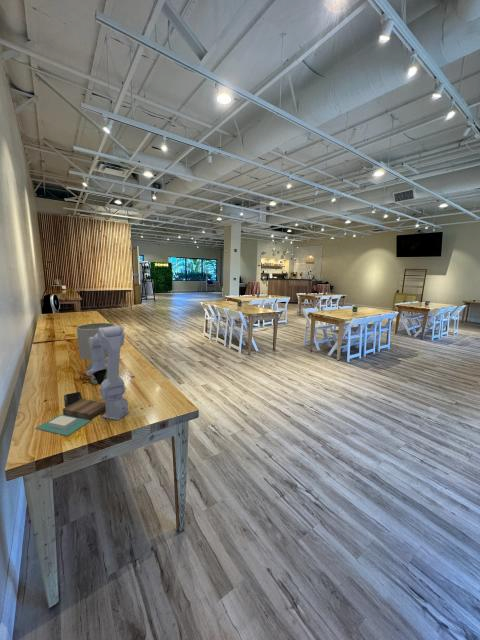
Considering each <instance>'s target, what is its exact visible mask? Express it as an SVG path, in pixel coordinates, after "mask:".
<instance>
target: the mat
mask: <svg viewBox="0 0 480 640" xmlns="http://www.w3.org/2000/svg"><path fill="white" fill-rule="evenodd" d="M59 416H66V417H71V418H76V419H77V423H76V424H74V425H73V426H71V427H69V428H68V429H66V430H62V429H58V428H53V427H49V422H50V421H52V420H54V419H56V418H58V417H59ZM91 422H92V419H91V420H87V419H82V418H77V417H72V416H67V415H63V414H58V415H57V416H55V417H53V418H51V419H50V420H48V421H46V422H44V423H43V424H40V425H39V426H37V427H35V429H36V430H39V431H44V432H48V433H53V434H56V435H61V436H66V437H68V436H71V434H73V433H75V432H77V431H78V430H79V429H81V428H83V427H84V426H86V425H88V424H89V423H91Z"/></svg>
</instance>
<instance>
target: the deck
mask: <svg viewBox="0 0 480 640" xmlns="http://www.w3.org/2000/svg"><path fill="white" fill-rule="evenodd" d="M62 412H63V413H62V415H66V416H71V417H76V418H81V419H86V420H91V421H92V420H93V419H94V418H96V417H97V416H99V415H101V414H102V413H104V412H106V408H105V402H102V401H96V400H91V399H85V398H82V399H81V400H79V401H77V402H75V403H73V404H71V405H69V406H68V407H64V408H62Z"/></svg>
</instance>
